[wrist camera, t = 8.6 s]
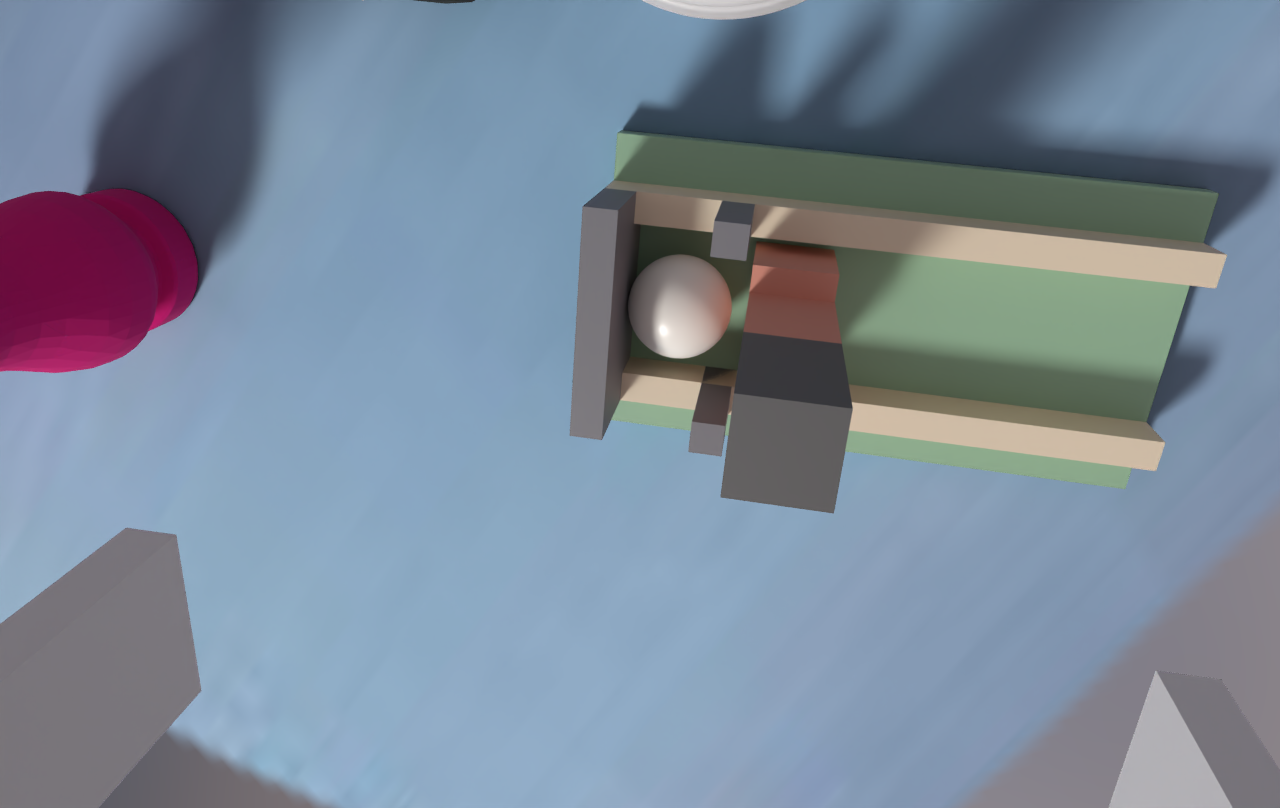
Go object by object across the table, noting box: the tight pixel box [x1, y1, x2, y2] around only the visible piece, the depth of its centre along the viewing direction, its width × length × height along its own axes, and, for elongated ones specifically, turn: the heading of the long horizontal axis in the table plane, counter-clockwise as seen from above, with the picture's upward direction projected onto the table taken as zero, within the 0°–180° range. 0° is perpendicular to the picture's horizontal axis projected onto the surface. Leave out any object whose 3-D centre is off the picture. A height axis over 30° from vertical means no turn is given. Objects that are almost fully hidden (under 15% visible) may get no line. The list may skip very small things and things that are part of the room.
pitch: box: [570, 130, 1227, 489], centre depth 34 cm, size 12×22×7 cm, turn 86°
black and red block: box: [721, 241, 853, 513], centre depth 30 cm, size 5×3×14 cm, turn 176°
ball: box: [628, 254, 732, 358], centre depth 36 cm, size 4×4×4 cm
